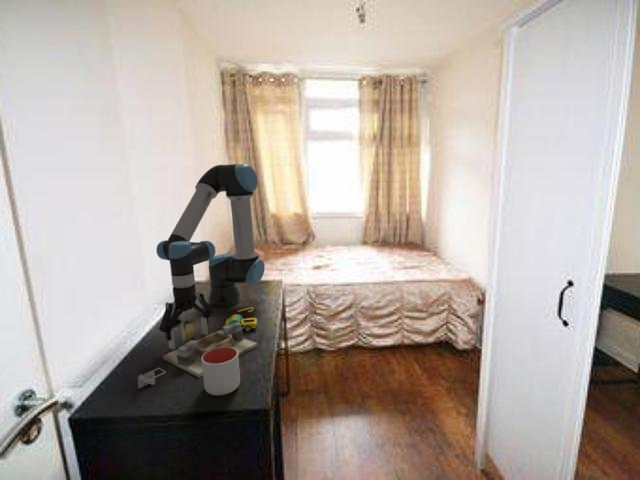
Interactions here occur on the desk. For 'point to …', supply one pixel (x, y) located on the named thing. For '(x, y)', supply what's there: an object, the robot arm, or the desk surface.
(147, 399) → the desk surface
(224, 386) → the cup
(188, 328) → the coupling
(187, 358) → the shaft rig
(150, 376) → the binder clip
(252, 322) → the toy car
